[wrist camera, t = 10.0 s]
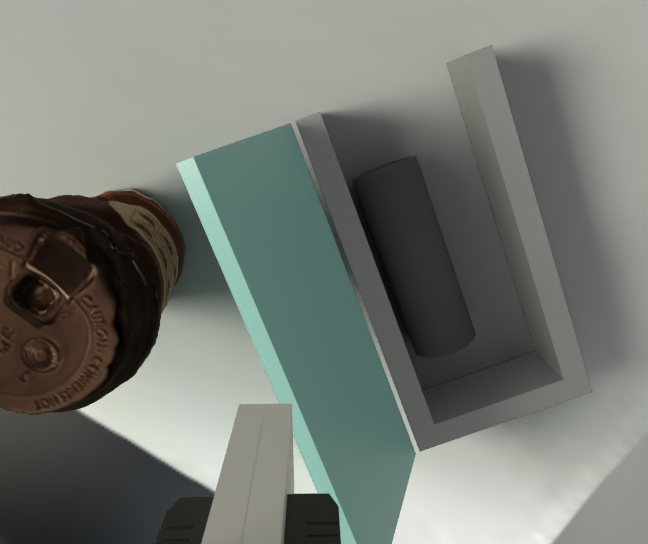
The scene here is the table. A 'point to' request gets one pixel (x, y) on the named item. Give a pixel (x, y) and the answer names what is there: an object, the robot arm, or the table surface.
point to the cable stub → (415, 257)
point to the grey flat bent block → (523, 258)
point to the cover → (306, 325)
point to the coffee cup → (80, 294)
